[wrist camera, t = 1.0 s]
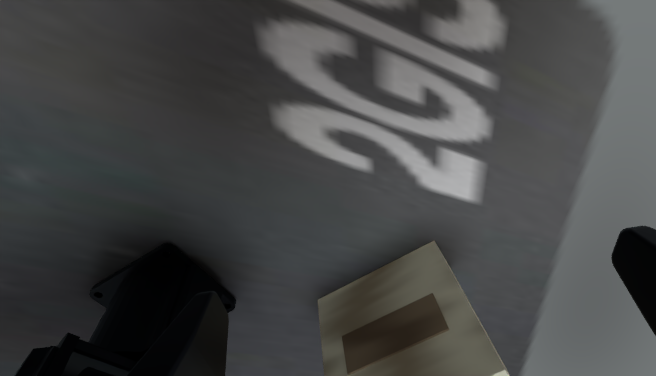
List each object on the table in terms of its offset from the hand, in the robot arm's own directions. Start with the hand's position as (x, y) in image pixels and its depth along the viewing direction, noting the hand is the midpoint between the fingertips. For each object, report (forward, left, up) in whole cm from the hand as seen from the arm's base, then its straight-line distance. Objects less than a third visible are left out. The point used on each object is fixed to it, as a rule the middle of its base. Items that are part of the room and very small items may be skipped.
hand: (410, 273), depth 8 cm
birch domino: (-4, -13, -12) cm, 18 cm away
